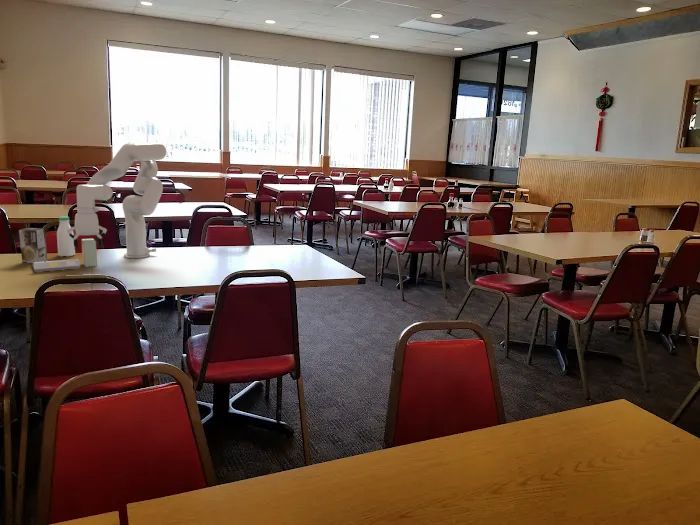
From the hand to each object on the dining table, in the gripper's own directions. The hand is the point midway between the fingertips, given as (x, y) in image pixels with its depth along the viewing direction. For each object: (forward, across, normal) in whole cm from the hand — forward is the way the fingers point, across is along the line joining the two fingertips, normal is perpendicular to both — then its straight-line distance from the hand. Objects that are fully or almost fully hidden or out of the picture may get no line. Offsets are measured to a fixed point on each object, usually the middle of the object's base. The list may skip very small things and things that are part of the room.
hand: (87, 247), depth 258 cm
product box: (+9, -1, 0) cm, 9 cm away
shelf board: (+9, +14, 0) cm, 16 cm away
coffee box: (+9, +21, -17) cm, 29 cm away
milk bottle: (+9, +6, -28) cm, 30 cm away
